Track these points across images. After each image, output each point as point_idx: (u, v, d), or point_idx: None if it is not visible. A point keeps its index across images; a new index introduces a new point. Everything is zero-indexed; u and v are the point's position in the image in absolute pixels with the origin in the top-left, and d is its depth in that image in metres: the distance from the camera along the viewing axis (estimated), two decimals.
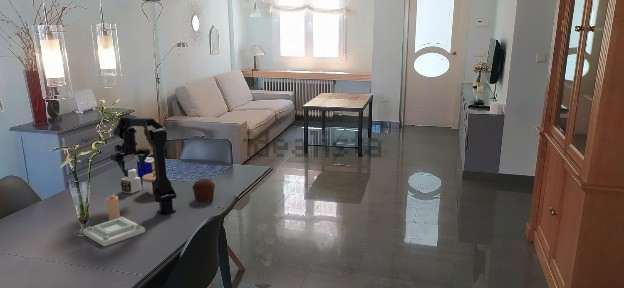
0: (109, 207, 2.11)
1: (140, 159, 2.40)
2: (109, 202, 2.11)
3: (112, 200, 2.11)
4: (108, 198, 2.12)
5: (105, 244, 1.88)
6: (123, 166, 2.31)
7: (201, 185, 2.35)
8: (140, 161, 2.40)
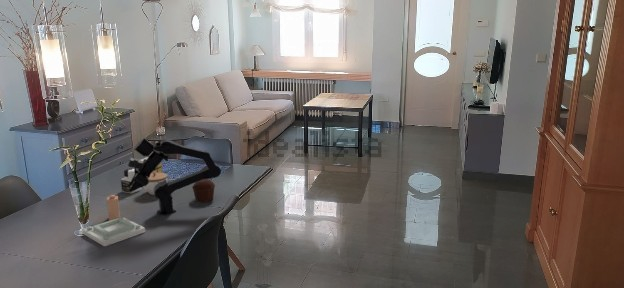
0: (109, 207, 2.11)
1: None
2: (109, 202, 2.11)
3: (112, 200, 2.11)
4: (108, 198, 2.12)
5: (105, 244, 1.88)
6: None
7: (201, 185, 2.35)
8: None
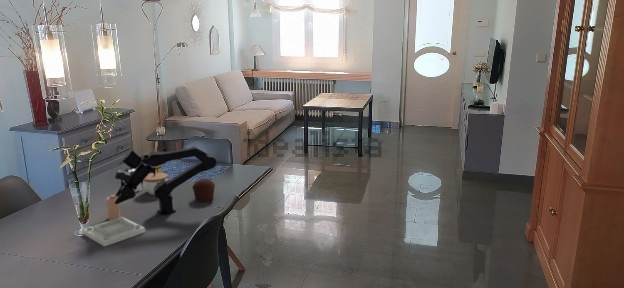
0: (109, 207, 2.11)
1: None
2: (109, 202, 2.11)
3: (112, 200, 2.11)
4: (108, 198, 2.12)
5: (105, 244, 1.88)
6: None
7: (201, 185, 2.35)
8: None
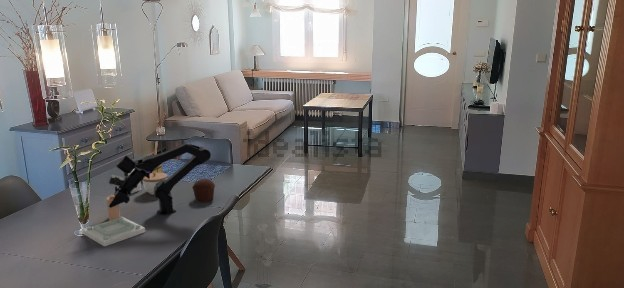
0: (109, 207, 2.11)
1: None
2: (109, 202, 2.11)
3: (112, 200, 2.11)
4: (108, 198, 2.12)
5: (105, 244, 1.88)
6: None
7: (201, 185, 2.35)
8: None
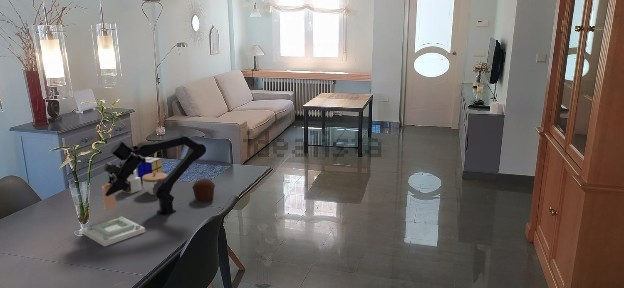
0: (105, 196, 2.05)
1: (112, 183, 2.10)
2: (105, 190, 2.04)
3: (108, 188, 2.05)
4: (103, 187, 2.06)
5: (105, 244, 1.88)
6: None
7: (201, 185, 2.35)
8: None
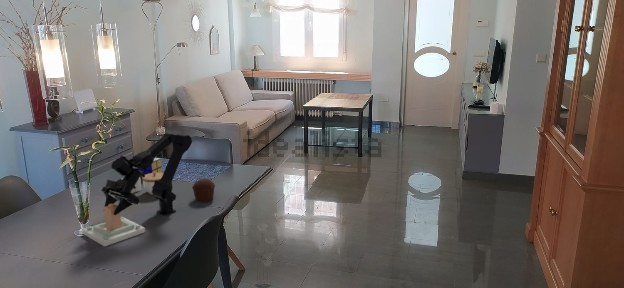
0: (112, 216, 1.95)
1: (111, 201, 2.01)
2: (112, 211, 1.95)
3: (115, 208, 1.96)
4: (108, 207, 1.96)
5: (105, 244, 1.88)
6: None
7: (201, 185, 2.35)
8: (110, 203, 2.00)
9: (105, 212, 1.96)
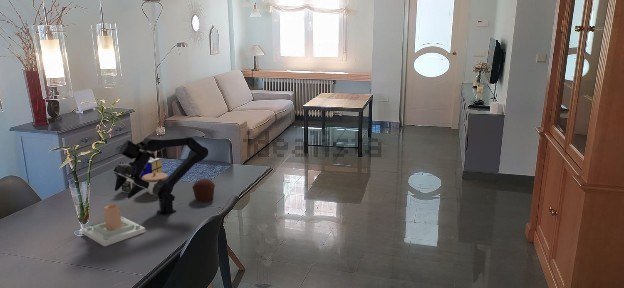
0: (112, 216, 1.95)
1: (121, 180, 2.11)
2: (112, 211, 1.95)
3: (115, 208, 1.96)
4: (108, 207, 1.96)
5: (105, 244, 1.88)
6: None
7: (201, 185, 2.35)
8: (120, 182, 2.11)
9: (105, 212, 1.96)
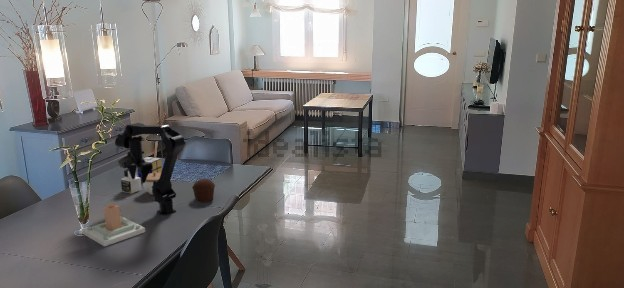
0: (112, 216, 1.95)
1: (132, 168, 2.29)
2: (112, 211, 1.95)
3: (115, 208, 1.96)
4: (108, 207, 1.96)
5: (105, 244, 1.88)
6: None
7: (201, 185, 2.35)
8: (133, 171, 2.29)
9: (105, 212, 1.96)
